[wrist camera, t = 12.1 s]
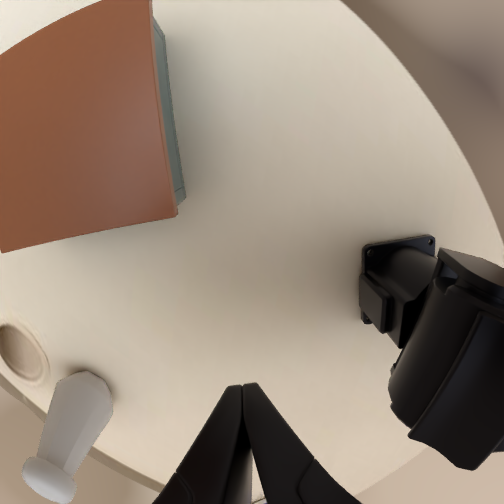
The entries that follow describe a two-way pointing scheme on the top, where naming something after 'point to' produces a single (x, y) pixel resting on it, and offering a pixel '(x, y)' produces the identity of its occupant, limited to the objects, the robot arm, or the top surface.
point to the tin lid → (83, 128)
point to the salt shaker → (68, 435)
